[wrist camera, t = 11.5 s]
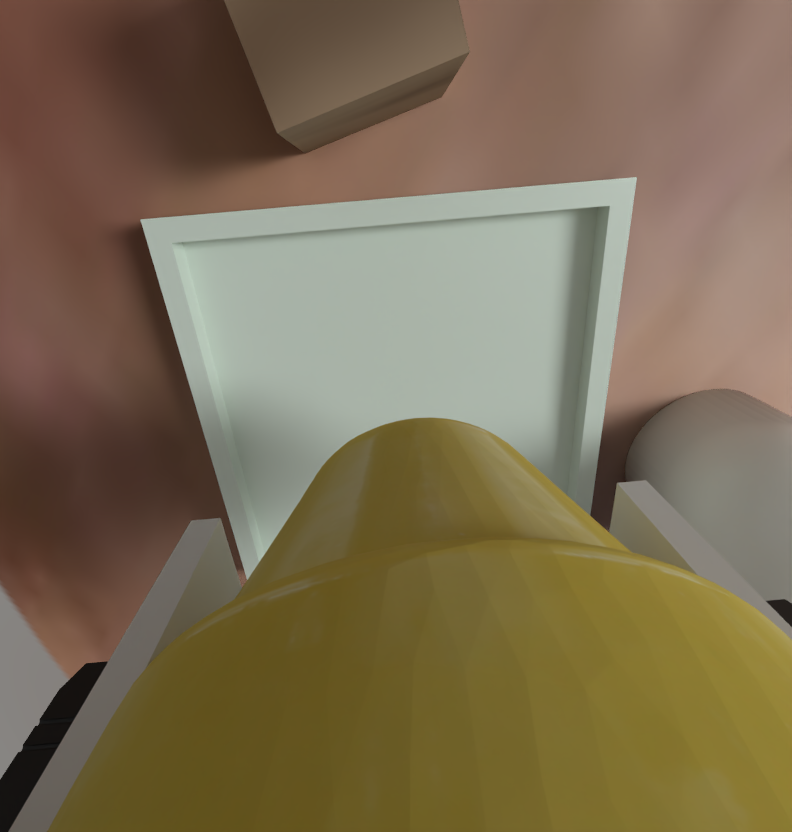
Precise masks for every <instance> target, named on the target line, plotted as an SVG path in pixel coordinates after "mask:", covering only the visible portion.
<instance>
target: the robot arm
mask: <svg viewBox="0 0 792 832" xmlns="http://www.w3.org/2000/svg"><path fill="white" fill-rule="evenodd" d="M609 533H610V534H611V535H613V536H614V537H615V538H616V539H617V540H618V541H620V542H621V543H622V544H623V545H624V546H625V547H626V548H628V549H629V550H630V551H631V552H632V553H637V554H641V555H644V556H647V557H650V558H653V559H657V560H660V561H663V562H666V563H669V564H672V565H675V566H677V567H680V568H682V569H685V570H687V571H690V572H692V573H694V574H696V575H699V576H701V577H703V578H705V579H707V580H709V581H712V582H714V583H716V584H718V585H719V586H721V587H723V588H725V589H726V590H728V591H730V592H731V593H733V594H735V595H736V596H738V597H739V598H741V599H742V600H744V601H745V602H747V603H748V604H750V605H751V606H753V607H754V608H756V609H757V610H759V611H760V612H761V613H762V614H763V615H765V616H766V617H767V618H768V619H769V620H771V621H772V622H773V623H774V624H775V625H776V626H777V627H779V628H780V629H781V630H782V631H783V632H784V633H785V634H786V635H787V636H788V637H789V638H790V639H791V640H792V603H790V602H789V601H787V600H785V599H780V600H769V601H765V600H764V599H763V598H762V597H761V596H760V595H759V594H758V593H757V592H756V591H755V590H754V589H753V588H752V587H751V586H750V585H749V584H748V583H747V582H746V581H745V580H744V579H743V578H742V577H741V576H740V575H739V574H738V573H737V572H736V571H735V570H734V569H733V568H732V567H731V566H730V564H729V563H728V562H727V561H726V560H725V559H724V558H723V557H722V556H721V555H720V554H719V553H718V552H717V551H716V550H715V549H714V548H713V547H712V546H711V545H710V544H709V543H708V542H707V541H706V540H705V539H704V538H703V537H702V536H701V535H700V534H699V533H698V532H697V531H696V530H695V529H694V528H693V527H692V526H691V525H690V524H689V523H688V522H687V521H686V520H685V519H684V518H683V517H682V516H681V515H680V514H679V513H678V512H677V511H676V510H675V509H674V508H673V507H672V506H671V505H670V504H669V503H668V502H667V501H666V500H665V499H664V498H663V497H662V496H661V495H660V494H659V493H658V492H657V491H656V490H655V489H654V488H653V487H652V486H651V485H650V484H649V483H648V482H647V481H646V480H643V481H632V482H621V483H617V486H616V493H615V499H614V505H613V511H612V518H611V524H610V530H609ZM241 589H242V587H241V584H240V581H239V577H238V574H237V571H236V567H235V564H234V561H233V558H232V554H231V551H230V548H229V544H228V541H227V538H226V534H225V531H224V528H223V525H222V521H221V518H214V519H203V520H192V521H191V522H190V523H189V525H188V527H187V529H186V530H185V532H184V534H183V535H182V537H181V539H180V541H179V542H178V544H177V546H176V547H175V549H174V551H173V552H172V554H171V556H170V558H169V559H168V561H167V563H166V564H165V566H164V568H163V569H162V571H161V573H160V575H159V576H158V578H157V580H156V581H155V583H154V585H153V586H152V588H151V590H150V592H149V593H148V595H147V597H146V598H145V600H144V602H143V603H142V605H141V607H140V609H139V610H138V612H137V614H136V615H135V617H134V619H133V620H132V622H131V624H130V626H129V627H128V629H127V631H126V632H125V634H124V636H123V637H122V639H121V641H120V643H119V644H118V646H117V648H116V649H115V651H114V653H113V655H112V656H111V658H110V660H109V661H108V662H97V663H86V664H85V665H84V666H83V667H82V668H81V669H80V670H79V671H78V672H77V673H76V674H75V675H74V676H73V677H72V678H71V679H70V680H69V681H68V682H67V683H66V684H65V685H64V686H63V687H62V688H60V690H59V691H58V692H57V694H56V696H55V697H54V698H53V700H52V702H51V703H50V705H49V706H48V708H47V709H46V711H45V712H44V714H43V715H42V717H41V718H40V723H39V725H38V726H35V728H34V729H33V731H32V732H31V734H30V735H29V737H28V739H27V740H26V741H25V743H24V744H23V749H22V751H21V752H18V754H17V755H16V757H15V758H14V760H13V761H12V763H11V764H10V766H9V767H8V769H7V770H6V772H5V773H4V775H3V777H2V778H1V779H0V832H47V831H48V829H49V827H50V825H51V824H52V822H53V820H54V818H55V816H56V814H57V813H58V811H59V809H60V807H61V805H62V804H63V802H64V800H65V798H66V796H67V794H68V793H69V791H70V789H71V787H72V786H73V784H74V782H75V780H76V779H77V777H78V775H79V773H80V772H81V770H82V768H83V766H84V765H85V763H86V761H87V759H88V758H89V756H90V754H91V752H92V751H93V749H94V747H95V746H96V744H97V742H98V740H99V739H100V737H101V735H102V733H103V732H104V730H105V728H106V726H107V725H108V723H109V721H110V719H111V718H112V716H113V715H114V713H115V712H116V710H117V708H118V707H119V705H120V704H121V702H122V701H123V699H124V697H125V696H126V694H127V693H128V691H129V690H130V688H131V686H132V685H133V683H134V682H135V681H136V680H137V678H138V677H139V676H140V675H141V674H142V673H143V671H144V670H145V669H146V668H147V667H148V665H149V664H150V663H151V662H152V661H153V660H154V659H155V658H156V657H157V656H158V655H159V654H160V653H161V652H162V651H163V650H164V649H165V648H166V647H167V646H168V645H169V644H170V643H171V642H173V641H174V640H175V639H176V638H177V637H178V636H179V635H181V634H182V633H183V632H184V631H186V630H187V629H189V628H190V627H192V626H193V625H195V624H196V623H197V622H199V621H200V620H202V619H203V618H205V617H206V616H208V615H209V614H211V613H213V612H214V611H216V610H218V609H219V608H221V607H223V606H224V605H226V604H228V603H229V602H231V601H233V600H234V599H235V598H236V596H237V595H238V593H239V592H240V590H241Z"/></svg>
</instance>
